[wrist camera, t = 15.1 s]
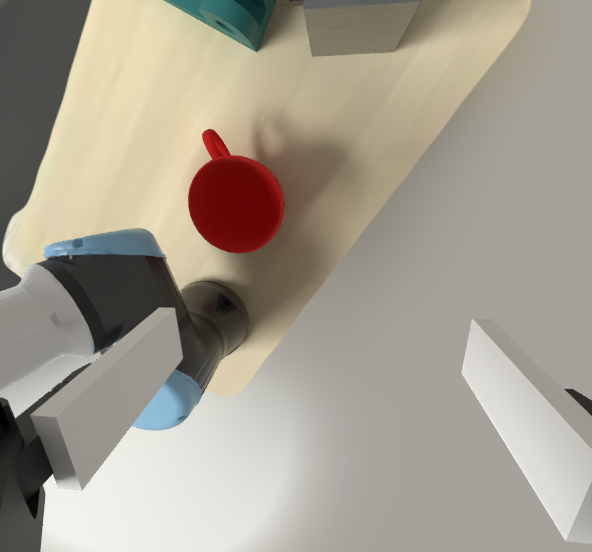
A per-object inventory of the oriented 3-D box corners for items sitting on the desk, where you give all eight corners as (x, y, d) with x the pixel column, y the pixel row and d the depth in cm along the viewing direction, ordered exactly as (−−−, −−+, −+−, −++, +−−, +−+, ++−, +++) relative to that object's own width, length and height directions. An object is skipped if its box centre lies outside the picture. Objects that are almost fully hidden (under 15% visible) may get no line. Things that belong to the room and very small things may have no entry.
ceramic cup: (262, 116, 46) (244, 104, 37) (303, 222, 51) (296, 235, 42) (189, 151, 49) (155, 148, 40) (234, 248, 54) (214, 266, 45)
